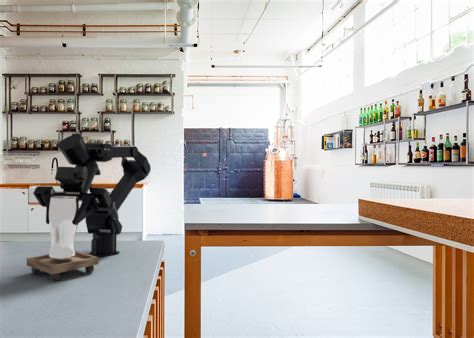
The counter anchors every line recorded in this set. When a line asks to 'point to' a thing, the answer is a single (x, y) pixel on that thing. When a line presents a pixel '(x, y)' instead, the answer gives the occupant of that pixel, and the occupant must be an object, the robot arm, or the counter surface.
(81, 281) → the counter surface
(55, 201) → the beer glass
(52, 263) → the walnut dolly
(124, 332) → the counter surface
